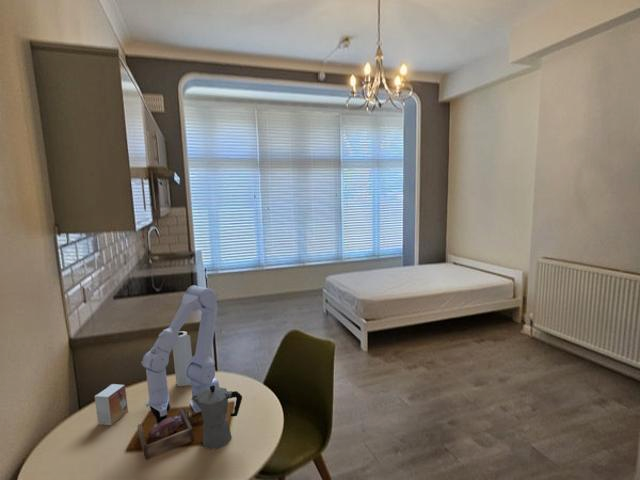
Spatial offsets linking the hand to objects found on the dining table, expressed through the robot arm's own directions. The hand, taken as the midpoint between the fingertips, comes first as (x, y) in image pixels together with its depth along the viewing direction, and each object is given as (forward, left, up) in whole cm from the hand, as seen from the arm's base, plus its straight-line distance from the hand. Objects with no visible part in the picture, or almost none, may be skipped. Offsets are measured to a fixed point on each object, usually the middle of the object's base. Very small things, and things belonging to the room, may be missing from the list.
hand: (162, 424), depth 116 cm
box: (0, +6, -1) cm, 6 cm away
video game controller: (-1, +4, -2) cm, 4 cm away
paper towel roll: (-13, -25, -2) cm, 29 cm away
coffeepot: (-14, +17, -2) cm, 22 cm away
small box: (+13, -17, -2) cm, 22 cm away
